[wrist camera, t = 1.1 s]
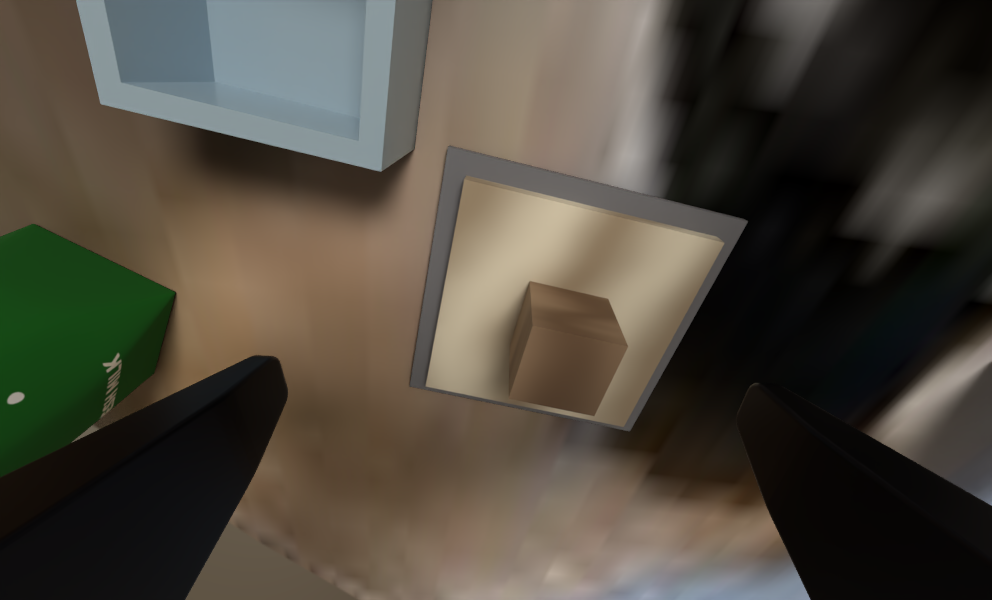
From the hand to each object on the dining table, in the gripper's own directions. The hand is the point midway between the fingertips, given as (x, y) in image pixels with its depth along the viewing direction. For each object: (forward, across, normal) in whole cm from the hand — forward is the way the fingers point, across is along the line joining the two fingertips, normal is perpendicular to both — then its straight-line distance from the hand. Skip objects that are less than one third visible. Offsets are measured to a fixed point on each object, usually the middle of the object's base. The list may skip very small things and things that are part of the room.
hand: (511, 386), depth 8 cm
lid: (+12, -3, +6) cm, 14 cm away
